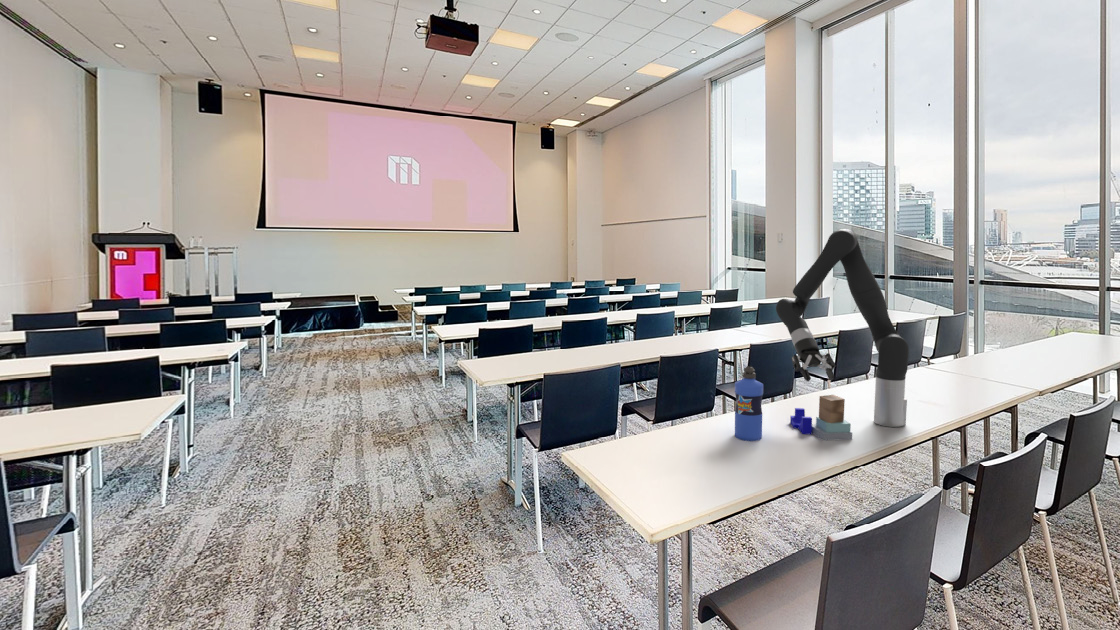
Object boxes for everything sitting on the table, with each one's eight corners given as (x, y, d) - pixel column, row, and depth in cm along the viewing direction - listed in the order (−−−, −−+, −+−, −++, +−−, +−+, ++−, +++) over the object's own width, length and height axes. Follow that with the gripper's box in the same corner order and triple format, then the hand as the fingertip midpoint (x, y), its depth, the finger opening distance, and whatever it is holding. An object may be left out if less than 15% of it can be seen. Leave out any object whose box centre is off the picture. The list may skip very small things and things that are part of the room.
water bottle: (741, 430, 192) (742, 362, 190) (766, 436, 186) (768, 366, 183) (729, 437, 186) (730, 367, 183) (754, 443, 179) (756, 371, 176)
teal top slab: (838, 424, 189) (839, 416, 189) (850, 432, 181) (850, 423, 181) (816, 425, 189) (816, 417, 189) (826, 432, 181) (826, 424, 181)
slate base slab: (835, 431, 191) (836, 423, 191) (852, 441, 181) (852, 432, 181) (808, 432, 191) (808, 424, 190) (823, 442, 181) (823, 433, 180)
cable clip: (790, 423, 199) (790, 407, 199) (803, 423, 198) (803, 408, 198) (797, 434, 188) (798, 417, 187) (811, 434, 187) (812, 418, 186)
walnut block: (832, 416, 188) (833, 394, 187) (843, 421, 183) (844, 399, 182) (818, 418, 187) (819, 396, 186) (829, 423, 182) (830, 400, 181)
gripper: (789, 337, 196) (805, 375, 186) (826, 336, 197) (844, 373, 187) (782, 349, 202) (797, 386, 192) (818, 347, 203) (835, 384, 193)
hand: (820, 379), depth 189 cm, fingers open, 8 cm apart
